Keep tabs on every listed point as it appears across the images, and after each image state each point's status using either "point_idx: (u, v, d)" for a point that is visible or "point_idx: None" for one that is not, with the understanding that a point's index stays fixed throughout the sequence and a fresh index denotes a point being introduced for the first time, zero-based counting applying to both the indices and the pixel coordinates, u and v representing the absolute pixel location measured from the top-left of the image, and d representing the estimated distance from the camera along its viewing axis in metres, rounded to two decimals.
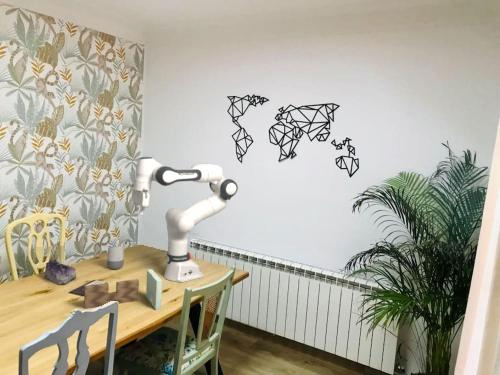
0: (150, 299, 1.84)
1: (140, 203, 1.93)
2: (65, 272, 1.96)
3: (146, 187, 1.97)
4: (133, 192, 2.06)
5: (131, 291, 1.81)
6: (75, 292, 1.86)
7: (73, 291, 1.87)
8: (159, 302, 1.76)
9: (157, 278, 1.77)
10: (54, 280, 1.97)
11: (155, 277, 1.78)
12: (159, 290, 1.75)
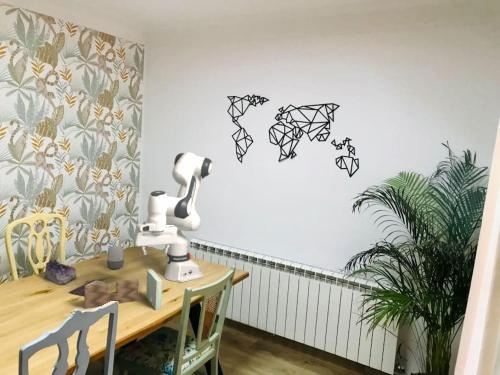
0: (150, 299, 1.84)
1: (171, 241, 1.81)
2: (65, 272, 1.96)
3: None
4: (140, 236, 1.73)
5: (131, 291, 1.81)
6: (75, 292, 1.86)
7: (73, 291, 1.87)
8: (159, 302, 1.76)
9: (157, 278, 1.77)
10: (54, 280, 1.97)
11: (155, 277, 1.78)
12: (159, 290, 1.75)
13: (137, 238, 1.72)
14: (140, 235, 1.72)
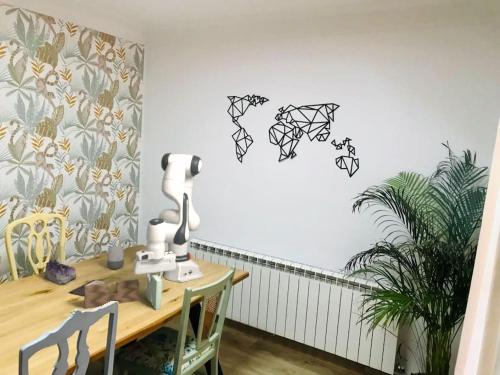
0: (150, 299, 1.84)
1: (170, 267, 1.83)
2: (65, 272, 1.96)
3: None
4: (139, 265, 1.75)
5: (131, 291, 1.81)
6: (75, 292, 1.86)
7: (73, 291, 1.87)
8: (159, 302, 1.76)
9: (157, 278, 1.77)
10: (54, 280, 1.97)
11: (155, 277, 1.78)
12: (159, 290, 1.75)
13: (136, 267, 1.74)
14: (139, 263, 1.74)
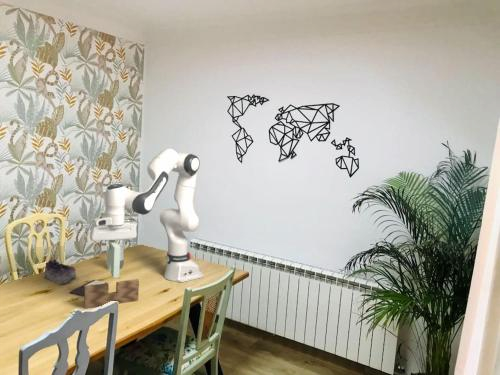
0: (110, 268, 1.78)
1: (130, 235, 1.77)
2: (65, 272, 1.96)
3: None
4: (96, 231, 1.68)
5: (131, 291, 1.81)
6: (75, 292, 1.86)
7: (73, 291, 1.87)
8: (117, 270, 1.69)
9: (115, 245, 1.71)
10: (54, 280, 1.97)
11: (114, 244, 1.72)
12: (117, 257, 1.69)
13: (93, 232, 1.67)
14: (96, 229, 1.68)
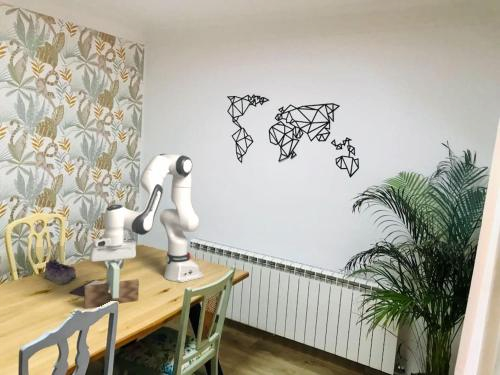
0: (109, 288, 1.79)
1: (130, 255, 1.78)
2: (65, 272, 1.96)
3: None
4: (96, 251, 1.69)
5: (131, 291, 1.81)
6: (75, 292, 1.86)
7: (73, 291, 1.87)
8: (117, 290, 1.71)
9: (115, 266, 1.72)
10: (54, 280, 1.97)
11: (113, 265, 1.73)
12: (117, 278, 1.70)
13: (92, 253, 1.69)
14: (96, 250, 1.69)
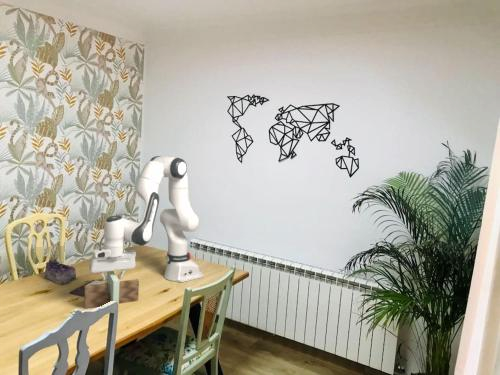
0: None
1: (129, 266, 1.79)
2: (65, 272, 1.96)
3: None
4: (96, 263, 1.70)
5: (131, 291, 1.81)
6: (75, 292, 1.86)
7: (73, 291, 1.87)
8: None
9: (115, 278, 1.73)
10: (54, 280, 1.97)
11: (113, 277, 1.74)
12: (116, 291, 1.71)
13: (92, 265, 1.69)
14: (95, 262, 1.70)
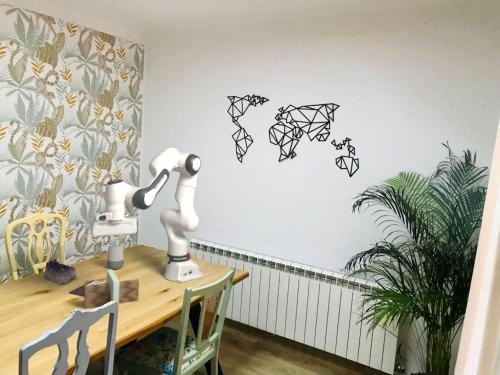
0: None
1: (131, 230, 1.77)
2: (65, 272, 1.96)
3: None
4: (97, 226, 1.68)
5: (131, 291, 1.81)
6: (75, 292, 1.86)
7: (73, 291, 1.87)
8: None
9: (115, 278, 1.73)
10: (54, 280, 1.97)
11: (113, 277, 1.74)
12: (116, 291, 1.71)
13: (93, 228, 1.68)
14: (96, 225, 1.68)
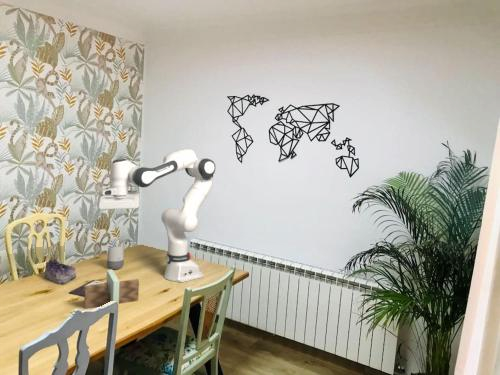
0: None
1: (133, 205, 1.95)
2: (65, 272, 1.96)
3: None
4: (103, 200, 1.87)
5: (131, 291, 1.81)
6: (75, 292, 1.86)
7: (73, 291, 1.87)
8: None
9: (115, 278, 1.73)
10: (54, 280, 1.97)
11: (113, 277, 1.74)
12: (116, 291, 1.71)
13: (100, 201, 1.86)
14: (103, 199, 1.87)
